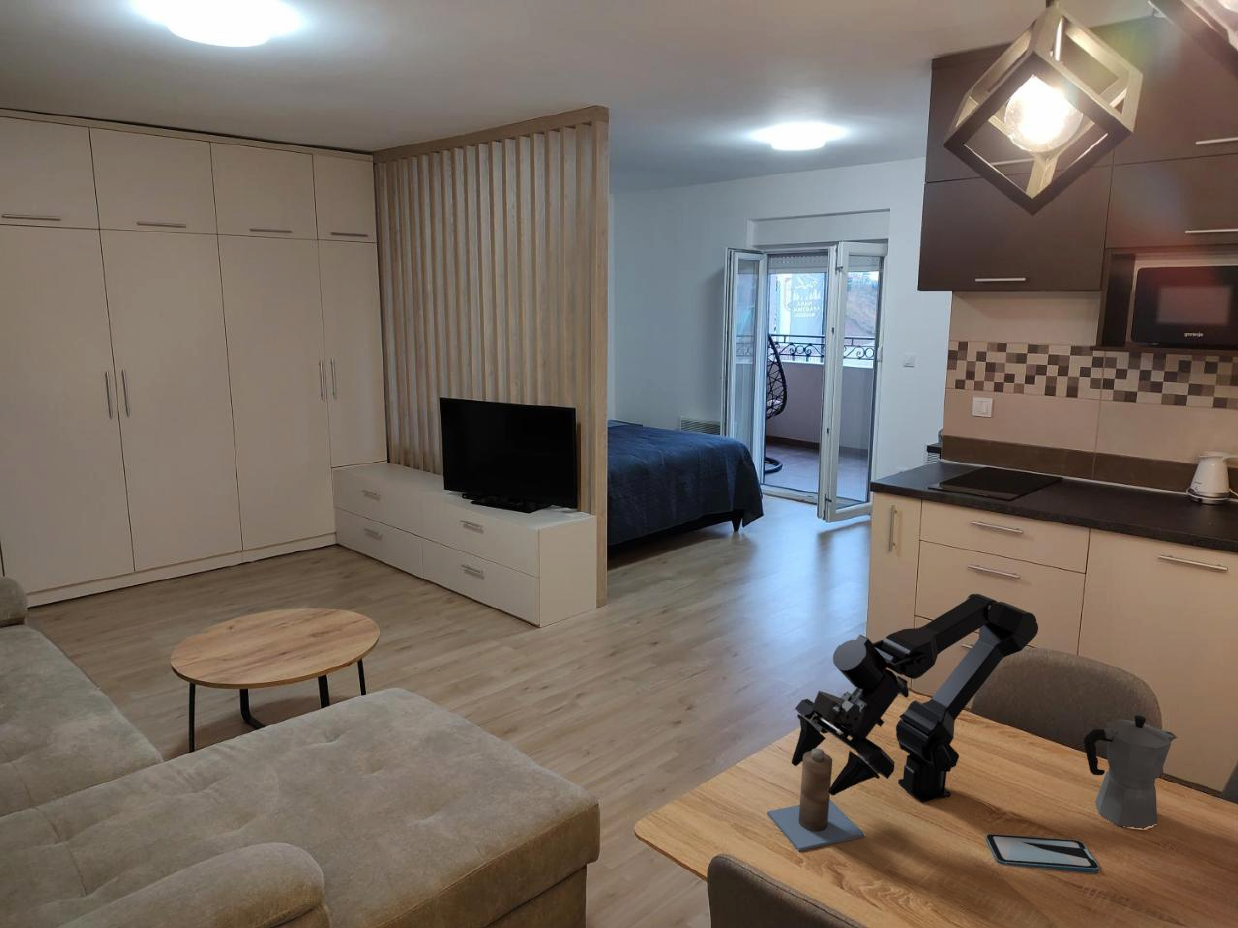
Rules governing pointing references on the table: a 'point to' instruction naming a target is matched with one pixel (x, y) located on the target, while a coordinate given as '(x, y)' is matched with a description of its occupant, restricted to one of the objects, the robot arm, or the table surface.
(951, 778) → the table surface
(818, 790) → the pepper mill
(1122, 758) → the coffeepot
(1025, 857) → the smartphone
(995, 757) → the table surface
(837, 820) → the placemat
